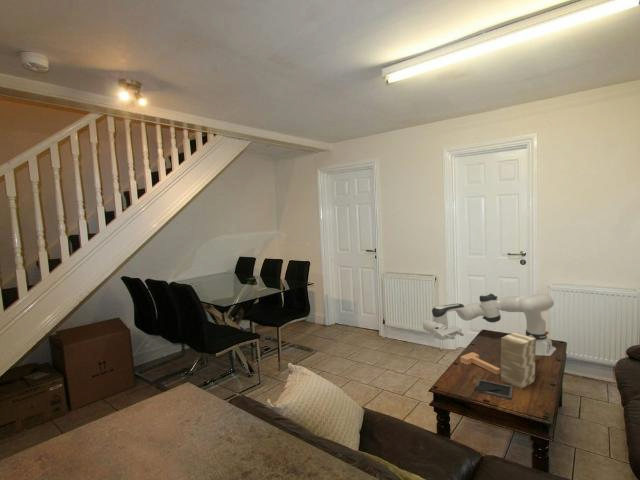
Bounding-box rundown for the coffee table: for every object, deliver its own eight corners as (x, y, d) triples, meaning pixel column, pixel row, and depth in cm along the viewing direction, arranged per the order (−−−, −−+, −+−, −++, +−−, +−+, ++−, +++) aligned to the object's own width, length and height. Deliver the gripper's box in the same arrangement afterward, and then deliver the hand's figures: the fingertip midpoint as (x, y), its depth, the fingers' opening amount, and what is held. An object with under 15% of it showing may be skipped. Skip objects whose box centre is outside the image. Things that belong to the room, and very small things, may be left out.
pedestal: (514, 373, 212) (514, 332, 209) (534, 381, 201) (535, 338, 198) (500, 380, 204) (501, 337, 202) (521, 388, 194) (522, 344, 191)
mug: (532, 369, 215) (532, 354, 214) (544, 374, 209) (545, 359, 207) (520, 374, 210) (520, 359, 209) (532, 379, 203) (532, 364, 202)
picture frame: (474, 392, 194) (511, 400, 185) (474, 389, 194) (511, 397, 184) (478, 381, 205) (513, 388, 196) (478, 378, 205) (513, 385, 195)
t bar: (504, 366, 214) (504, 372, 214) (472, 352, 234) (472, 357, 234) (492, 372, 208) (492, 378, 209) (460, 356, 228) (460, 362, 229)
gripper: (451, 331, 253) (468, 337, 241) (432, 338, 243) (448, 344, 231) (451, 323, 252) (468, 328, 241) (432, 329, 242) (448, 335, 230)
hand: (458, 336), depth 236 cm, fingers open, 8 cm apart
